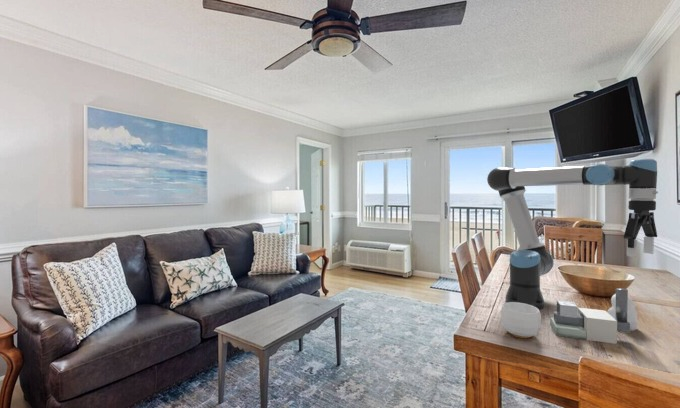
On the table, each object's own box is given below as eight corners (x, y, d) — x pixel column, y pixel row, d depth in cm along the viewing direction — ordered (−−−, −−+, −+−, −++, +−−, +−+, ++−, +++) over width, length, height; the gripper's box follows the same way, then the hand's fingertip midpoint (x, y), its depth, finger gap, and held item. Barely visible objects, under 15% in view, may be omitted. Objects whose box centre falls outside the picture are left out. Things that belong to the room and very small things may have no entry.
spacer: (560, 315, 109) (560, 304, 109) (556, 311, 114) (556, 300, 113) (577, 318, 107) (577, 306, 107) (573, 312, 112) (573, 302, 111)
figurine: (623, 322, 118) (623, 291, 118) (643, 330, 110) (643, 297, 110) (605, 322, 118) (605, 291, 118) (624, 331, 110) (624, 298, 110)
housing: (586, 339, 104) (586, 317, 104) (577, 327, 113) (577, 307, 113) (616, 344, 101) (617, 321, 101) (604, 331, 110) (605, 310, 110)
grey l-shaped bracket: (555, 323, 110) (556, 284, 110) (553, 320, 113) (554, 282, 113) (629, 333, 102) (630, 291, 102) (625, 329, 105) (626, 288, 105)
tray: (556, 335, 107) (556, 327, 107) (550, 324, 117) (550, 317, 117) (585, 339, 104) (586, 331, 104) (576, 327, 113) (576, 320, 113)
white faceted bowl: (498, 325, 116) (498, 299, 116) (536, 330, 112) (536, 303, 112) (502, 339, 105) (502, 311, 105) (545, 345, 100) (545, 316, 100)
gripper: (639, 200, 109) (637, 259, 110) (669, 199, 120) (667, 253, 121) (613, 200, 116) (611, 255, 117) (644, 199, 127) (642, 250, 128)
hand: (640, 254), depth 119 cm, fingers open, 13 cm apart
